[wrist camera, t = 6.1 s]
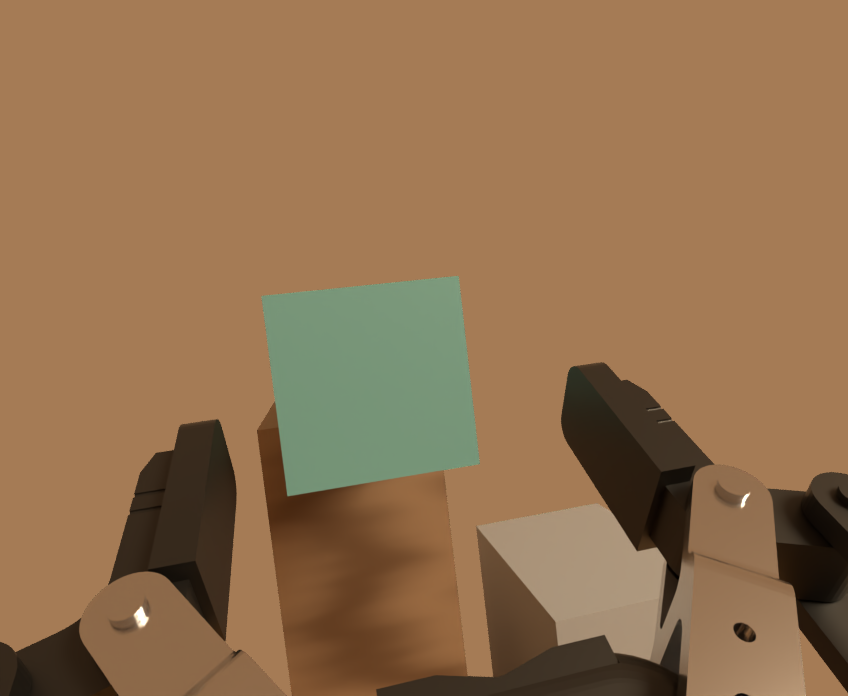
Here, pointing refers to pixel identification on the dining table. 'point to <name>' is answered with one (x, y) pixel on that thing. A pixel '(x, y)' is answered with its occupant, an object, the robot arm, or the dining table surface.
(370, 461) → the batten
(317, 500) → the stand tall
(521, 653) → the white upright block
